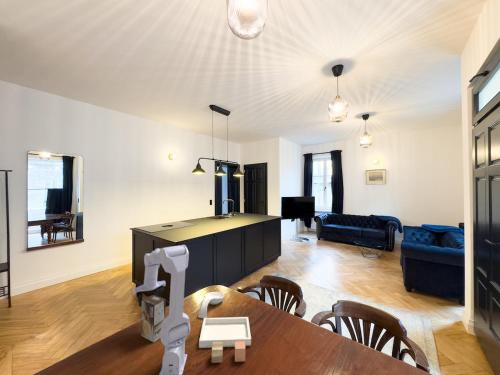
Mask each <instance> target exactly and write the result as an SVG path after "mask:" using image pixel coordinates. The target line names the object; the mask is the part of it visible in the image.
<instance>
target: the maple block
mask: <svg viewBox="0 0 500 375" xmlns="http://www.w3.org/2000/svg"><path fill="white" fill-rule="evenodd" d="M223 350H224V347H223V342H213V346H212V347H211V364H212V363H214V364H217V363H222V362H223Z"/></svg>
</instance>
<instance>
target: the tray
mask: <svg viewBox="0 0 500 375" xmlns="http://www.w3.org/2000/svg"><path fill="white" fill-rule="evenodd" d="M199 336H200V337H199V341H198V348H199V349H204V348H205V349H206V348H212V346H213V342H223V348H233V347H234V348H235V342H240V341H245V347H251V346H252V336H251V328H250V321H249V316H235V317H228V316H227V317H207V318H204V319H203V322H202V325H201V330H200V335H199Z"/></svg>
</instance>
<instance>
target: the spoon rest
mask: <svg viewBox="0 0 500 375" xmlns="http://www.w3.org/2000/svg"><path fill="white" fill-rule="evenodd" d="M224 299H225V294H224V293H223V292H220V291H211V292H207V293H205V294H204V299H203V300H202V303H201V305H200V308H199V311H198V315H197V317H198V318H199V319H203V320H204V318H208V314H207V313H208V305H213V306H215V305H218V304H220V303H221V302H222V301H224Z"/></svg>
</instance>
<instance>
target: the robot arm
mask: <svg viewBox="0 0 500 375" xmlns="http://www.w3.org/2000/svg"><path fill="white" fill-rule="evenodd" d="M189 257H190V252H189V249H188V247H187V245H185V244H181V245H174V246H166V247H161V248H158V247H157V248H155V249H154V250H152V251H151V252H150V253H144V256H143V261H144V262H143V263H144V276H143V277H144V279H143V284H141V285H139V286H137V287H135V288H133V289H132V293H133V295H136V298H137V300H138V307H139V308H142V300H143V298H144V295H143V292H148V291H149V292H150V291H154V290H155V296H158V297H160V298H161V295H162V293H163V292H164V290H165V287H166V285H167V284H166V280H161V281H159V280H158V275H159V274H158V273H159V269H160V266H161V267H162V268H163V269H164V272H165V273H169V274H170V287H169V288H170V292H169V308H168V310H169V311H168V315H167V316H165V320H164V321H163V322H162V328H161V331H160V338H159V339H160V341H161V343H162V345H163V346H164V354H163V356H162V361H161V362H162V366H161V368H160V369H161V370H160V372H159V374H158V375H183V374H184V368H185V365H186V361H187V358H188V354H187V353H185V352H186V351H185V350H186V340H187V339H188V336H189V335H190V333H191V324H190V317H189V315H188V314H186V313H185V312H184V301H185V300H184V299H185V283H186V281H185V280H186V269H188V268H189V267H188V266H189Z"/></svg>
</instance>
